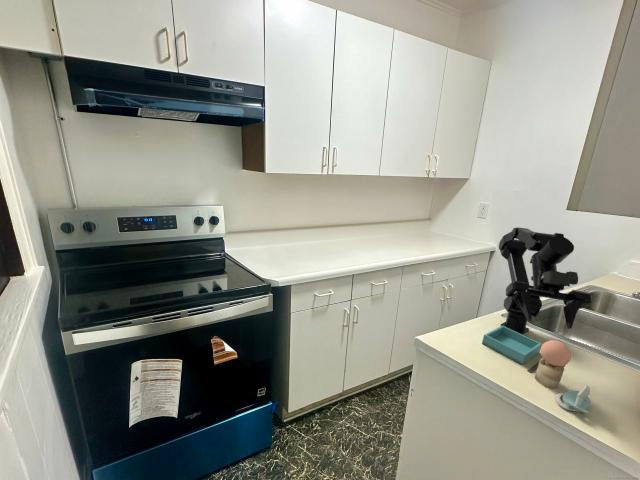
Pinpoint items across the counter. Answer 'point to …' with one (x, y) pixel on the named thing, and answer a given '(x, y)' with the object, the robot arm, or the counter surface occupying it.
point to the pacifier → (575, 399)
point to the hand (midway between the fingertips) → (549, 324)
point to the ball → (555, 353)
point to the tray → (512, 344)
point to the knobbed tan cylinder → (549, 374)
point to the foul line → (533, 368)
